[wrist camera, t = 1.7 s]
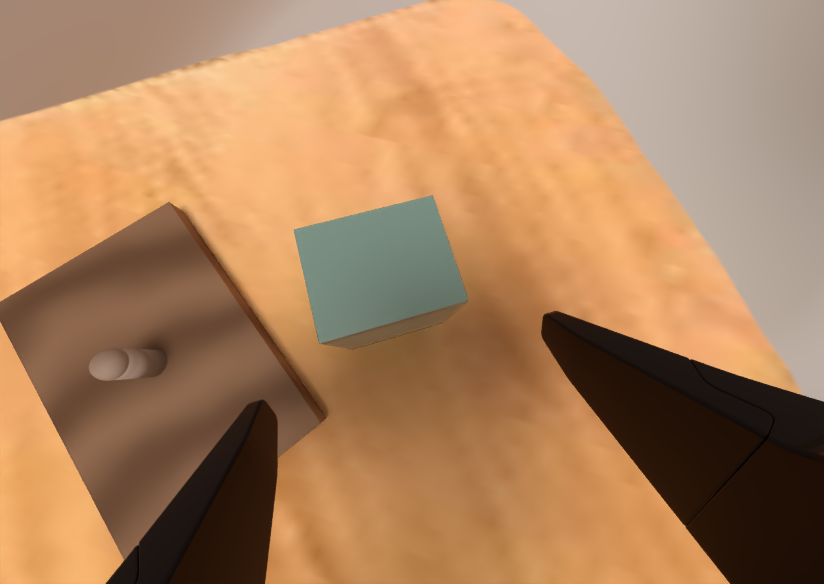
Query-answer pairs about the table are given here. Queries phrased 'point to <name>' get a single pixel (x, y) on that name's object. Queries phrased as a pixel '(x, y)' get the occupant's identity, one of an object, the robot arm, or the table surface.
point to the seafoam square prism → (379, 274)
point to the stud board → (149, 411)
